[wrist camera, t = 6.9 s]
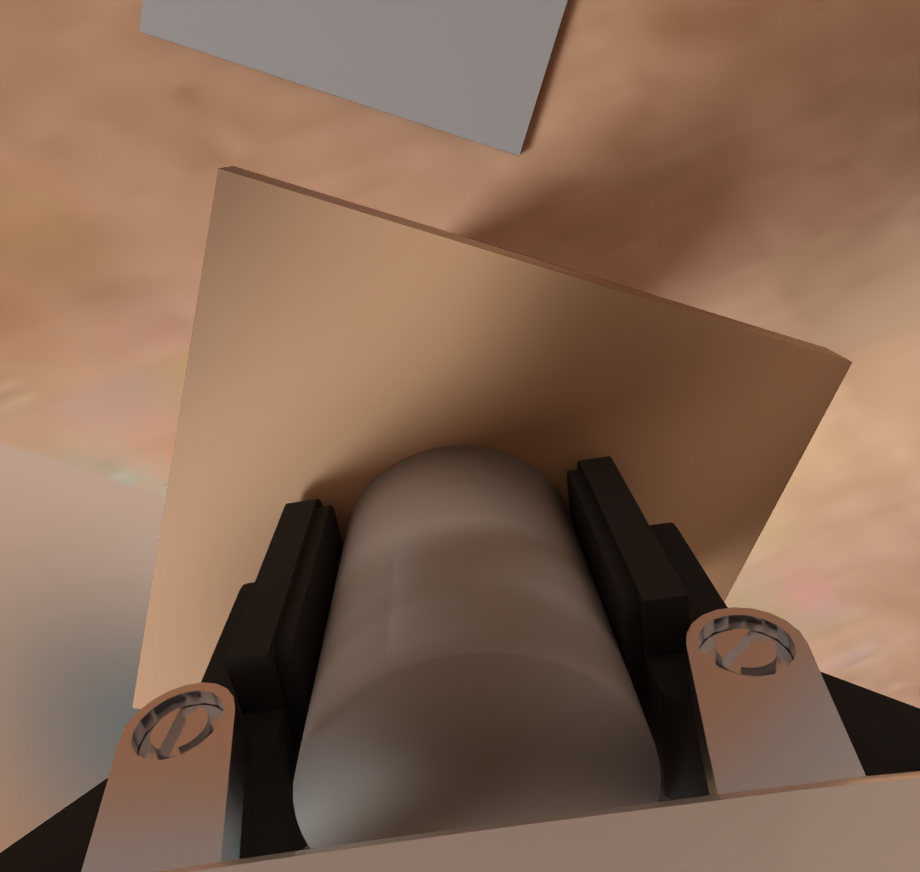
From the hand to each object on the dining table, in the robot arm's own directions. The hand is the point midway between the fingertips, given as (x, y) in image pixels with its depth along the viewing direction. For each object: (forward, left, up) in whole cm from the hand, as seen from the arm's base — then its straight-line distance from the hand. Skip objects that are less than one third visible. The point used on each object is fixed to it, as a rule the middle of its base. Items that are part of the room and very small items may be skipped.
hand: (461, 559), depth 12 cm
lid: (0, 0, -1) cm, 1 cm away
